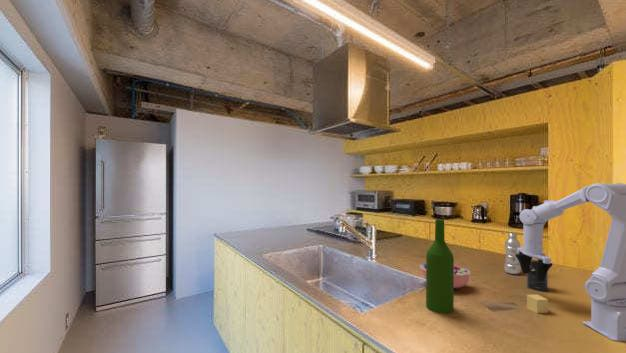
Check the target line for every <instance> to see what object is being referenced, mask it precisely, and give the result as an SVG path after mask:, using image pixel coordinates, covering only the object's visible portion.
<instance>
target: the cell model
mask: <svg viewBox="0 0 626 353" xmlns="http://www.w3.org/2000/svg"><path fill="white" fill-rule="evenodd" d="M419 268H420V270H421V273H422V275H423V277H424V279H425V280H426V262H424V263H421V264H419ZM470 277H471V270H469V269H467V268H464V267H462V266H459V265H458V264H457V265H456V264H454V289H461V288H463V287H465V286H466V285H467V284H468V283H469V281H470Z"/></svg>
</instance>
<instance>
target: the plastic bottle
mask: <svg viewBox="0 0 626 353" xmlns="http://www.w3.org/2000/svg"><path fill="white" fill-rule="evenodd" d="M521 245H522V244H521V241H519V240H518V233H517V232H512V231H511V232H508V233H507V238H506V240H505V241H504V248H505V263H504V267H503V268H504V270H505V272H506V273H508V274H509V275H519V274H520V273H521V271H522V270H521V266H520V263H519V261H518V259H517V257H516V256H515V254H519V253H518V252H517V247H518V248H521Z"/></svg>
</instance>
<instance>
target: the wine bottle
mask: <svg viewBox="0 0 626 353" xmlns="http://www.w3.org/2000/svg"><path fill="white" fill-rule="evenodd" d="M445 238H446V237H445V219H441V218H437V219H435V221H434V241H433V243H432V244H431V245H430V247H428V250H427V252H426V255H425V263H426V279H425V297H426V298H425V307H426V308H427V310H429V311H431V312H434V313H438V314H443V315H449V314H452V313H454V308H455V307H454V304H455V302H454V300H455V299H454V298H455V296H454V289H455V288H454V265H455V263H454V262H455V261H454V254H453V252H452V251H451V249H450V248H449V246H448V245H447V243H446V241H445V240H446V239H445Z"/></svg>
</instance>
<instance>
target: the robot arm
mask: <svg viewBox="0 0 626 353" xmlns="http://www.w3.org/2000/svg"><path fill="white" fill-rule="evenodd" d="M585 203H591V204H593V205H595V206H597V207H598V208H600V209H602V210H603V211H605V212H606V213H607V214H608V215H609V216H610V217H611V222H610V226H609V228H608V229H609V230H608V233H607V238H606V241H605V245H604V249H603V253H602V256H601V259H600V260H601V261H600V264H599V267H598V268H596V269H595V270H594V271H593V272H592V273H591V276H590V278H589V279H588V280H586V281H585V283H584V290H585V292H586V293H587V295H588V296H589V298H590V299H591V300H590V301H591V304H590V307H591V308H590V311H591V312H590V313H591V314H590V315H591V316H590V319H591V320H590V321H587V320H585V321H582V324H584V325H586V326H587V327H589V328H590V329H592V330H594V331H596V332H598V333H600V334H601V335H603V336H604V337H606V338H608V339H610V340H612V341H613V342H616V341H617V342H626V183H621V182H617V183H599V182H596V183H592V184H590V185H589V186H584V187H582V188H581V189H579V190H577V191H575V192H574V193H571V194H569V195H567V196H565V197H563V198H561V199H559V200H552V199H551V200H549V199H547V200H546V199H545V200H543V203H542V204H539V205H534V206H532V208H531V209H528V208H524V209H523V210H521V212H519V220H520V222H521V223H522V224H523V227H522V230H523V231H522V232H523V233H522V234H523V239H522V240H523V244H522V245H523V246H522V247H520V248H518V247H517V252H518V253H519V254H515V256H516V257H517V259H518V261H519V263H520V269H521V270H520V271H521V272H522V273H523V274H527V273H529V271H530V263H531V261H532V262H533V264H534V267H535V271H536V278H537V280H538V281H544V279H545V276H546V274H547V272H549V271H550V269H551V267H553V262H552V259H551V257H549V256H547V255H546V252H543V251H544V250H543V249H544V245H543V243H544V242H543V241H544V239H543V237H544V236H543V235H544V234H543V233H544V232H543V229H544V227H545V224H546V222H548V221H549V220H552V219H556V218H558V217H560V216H563V214H564V213H565V210H568V209H571V208H573V207H575V206H577V207H578V206H579V205H582V204H585ZM533 259H535V260H533Z"/></svg>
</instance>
